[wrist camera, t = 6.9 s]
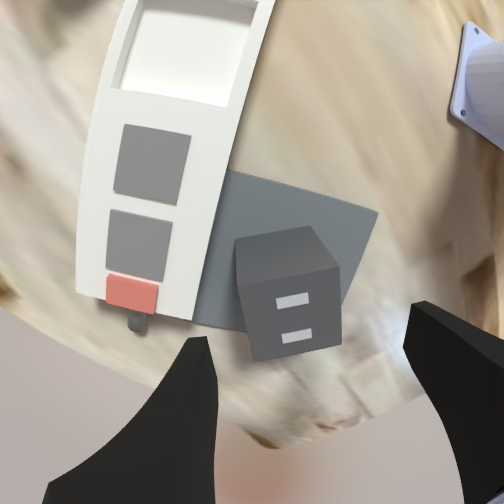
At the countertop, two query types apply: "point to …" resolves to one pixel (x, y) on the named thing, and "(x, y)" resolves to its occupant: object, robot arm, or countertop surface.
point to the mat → (265, 221)
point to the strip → (162, 149)
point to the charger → (288, 293)
